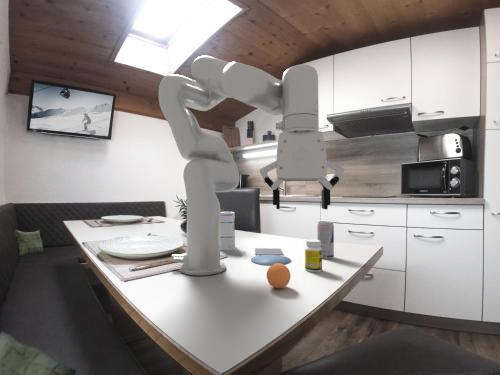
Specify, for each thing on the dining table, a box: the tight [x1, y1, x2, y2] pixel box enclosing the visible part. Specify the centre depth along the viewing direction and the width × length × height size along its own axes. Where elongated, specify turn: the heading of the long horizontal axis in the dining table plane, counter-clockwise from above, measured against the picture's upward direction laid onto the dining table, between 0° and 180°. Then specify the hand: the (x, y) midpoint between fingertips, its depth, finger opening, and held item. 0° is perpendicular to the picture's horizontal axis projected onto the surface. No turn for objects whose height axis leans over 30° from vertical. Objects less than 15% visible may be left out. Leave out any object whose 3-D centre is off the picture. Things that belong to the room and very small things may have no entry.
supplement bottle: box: [304, 239, 323, 273], centre depth 74 cm, size 5×5×8 cm
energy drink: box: [316, 220, 335, 260], centre depth 89 cm, size 5×5×12 cm
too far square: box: [254, 247, 284, 256], centre depth 97 cm, size 10×10×1 cm
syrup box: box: [220, 211, 236, 251], centre depth 102 cm, size 6×6×14 cm
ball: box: [266, 263, 291, 289], centre depth 60 cm, size 6×6×6 cm
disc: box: [250, 255, 292, 266], centre depth 85 cm, size 13×13×1 cm
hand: (301, 208), depth 54 cm, fingers open, 9 cm apart
